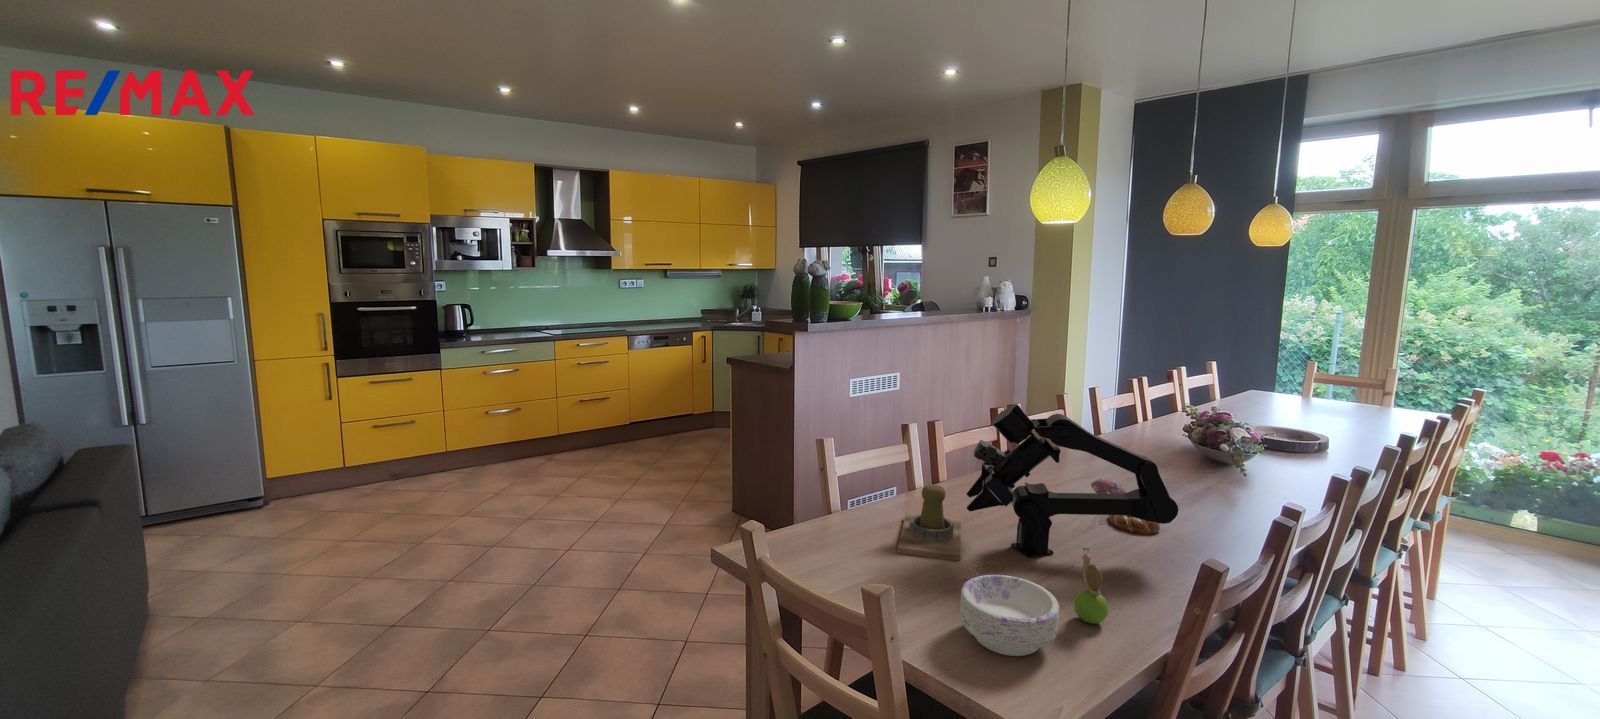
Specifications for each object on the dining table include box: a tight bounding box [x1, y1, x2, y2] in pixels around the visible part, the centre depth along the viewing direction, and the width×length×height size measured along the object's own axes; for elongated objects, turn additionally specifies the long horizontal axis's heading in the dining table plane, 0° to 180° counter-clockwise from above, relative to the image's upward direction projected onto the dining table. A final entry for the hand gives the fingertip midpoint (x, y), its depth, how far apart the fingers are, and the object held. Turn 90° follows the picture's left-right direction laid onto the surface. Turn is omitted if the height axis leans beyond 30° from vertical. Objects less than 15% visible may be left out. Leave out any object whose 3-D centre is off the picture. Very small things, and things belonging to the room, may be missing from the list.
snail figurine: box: [1073, 547, 1109, 625], centre depth 114 cm, size 5×6×12 cm
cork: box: [919, 483, 947, 530], centre depth 148 cm, size 6×6×11 cm
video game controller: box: [1090, 478, 1128, 494], centre depth 177 cm, size 10×5×7 cm, turn 26°
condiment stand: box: [897, 514, 962, 562], centre depth 148 cm, size 20×13×4 cm, turn 166°
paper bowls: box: [959, 574, 1060, 657], centre depth 107 cm, size 15×15×8 cm
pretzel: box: [1107, 515, 1161, 535], centre depth 160 cm, size 12×11×4 cm
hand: (967, 502), depth 146 cm, fingers open, 9 cm apart
